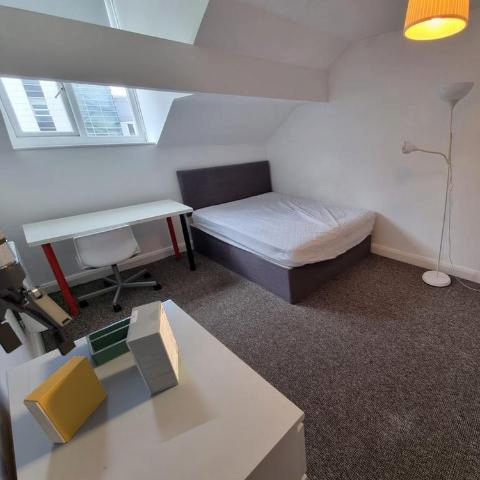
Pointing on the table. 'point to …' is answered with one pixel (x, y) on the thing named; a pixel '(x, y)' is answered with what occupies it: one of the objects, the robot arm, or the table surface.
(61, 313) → the robot arm
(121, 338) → the caddy
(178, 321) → the table surface
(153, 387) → the hard drive box
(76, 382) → the book
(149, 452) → the table surface
